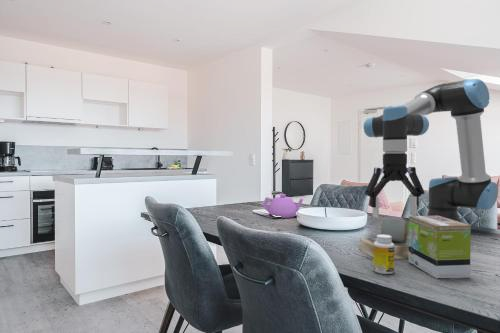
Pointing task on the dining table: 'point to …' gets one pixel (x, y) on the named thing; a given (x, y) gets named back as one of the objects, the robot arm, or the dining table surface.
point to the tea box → (440, 246)
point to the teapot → (282, 206)
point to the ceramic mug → (395, 229)
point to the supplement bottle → (383, 255)
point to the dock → (399, 248)
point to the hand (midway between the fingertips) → (394, 216)
